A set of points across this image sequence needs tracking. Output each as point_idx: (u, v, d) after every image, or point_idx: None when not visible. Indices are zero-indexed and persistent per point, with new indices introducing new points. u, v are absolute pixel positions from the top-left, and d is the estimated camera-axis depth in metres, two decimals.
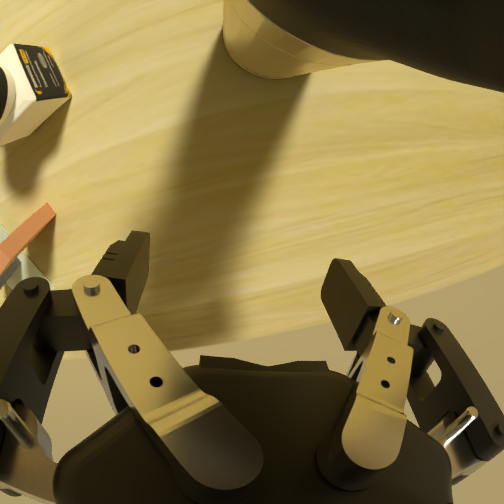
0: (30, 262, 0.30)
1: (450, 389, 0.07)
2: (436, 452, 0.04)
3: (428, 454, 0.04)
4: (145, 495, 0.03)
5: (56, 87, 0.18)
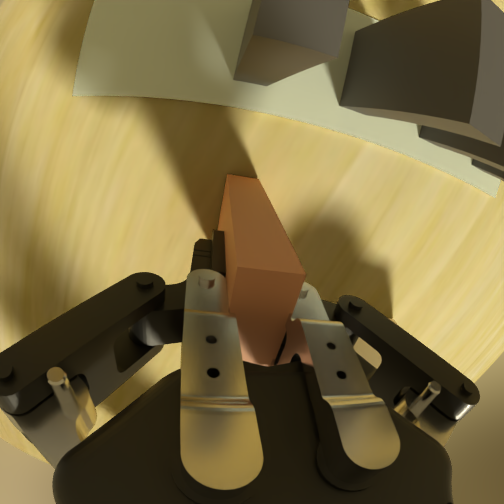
0: (209, 99, 0.14)
1: (398, 369, 0.07)
2: (436, 452, 0.04)
3: (428, 454, 0.04)
4: None
5: None
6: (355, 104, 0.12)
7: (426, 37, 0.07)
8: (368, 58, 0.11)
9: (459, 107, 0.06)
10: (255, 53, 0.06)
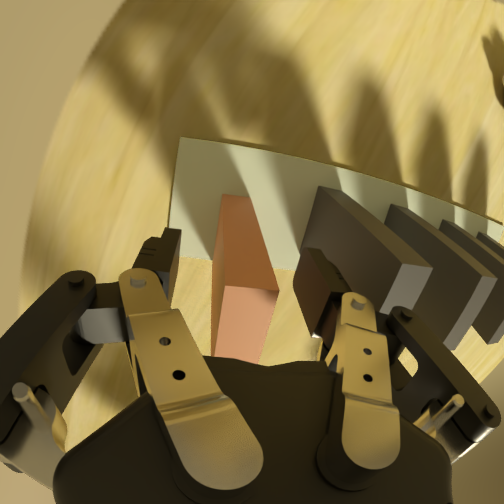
0: (279, 264, 0.21)
1: (430, 378, 0.07)
2: (437, 451, 0.04)
3: (428, 455, 0.04)
4: (144, 503, 0.03)
5: None
6: None
7: (437, 275, 0.14)
8: None
9: None
10: None
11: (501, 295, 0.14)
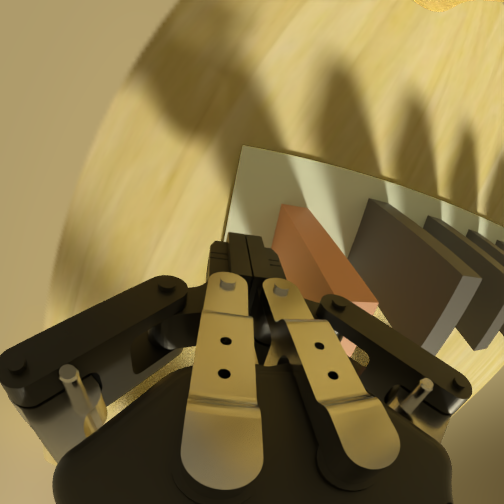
0: None
1: (387, 367, 0.07)
2: (437, 451, 0.04)
3: (428, 454, 0.04)
4: None
5: None
6: None
7: None
8: None
9: (473, 339, 0.14)
10: None
11: None
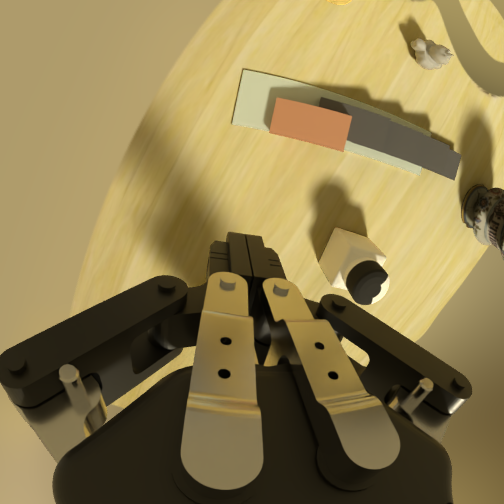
0: None
1: (387, 368, 0.07)
2: (437, 451, 0.04)
3: (428, 454, 0.04)
4: None
5: None
6: None
7: (404, 137, 0.35)
8: None
9: (413, 160, 0.36)
10: (369, 147, 0.36)
11: (441, 153, 0.36)
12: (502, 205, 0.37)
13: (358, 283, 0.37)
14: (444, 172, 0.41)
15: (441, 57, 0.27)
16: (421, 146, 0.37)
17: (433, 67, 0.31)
